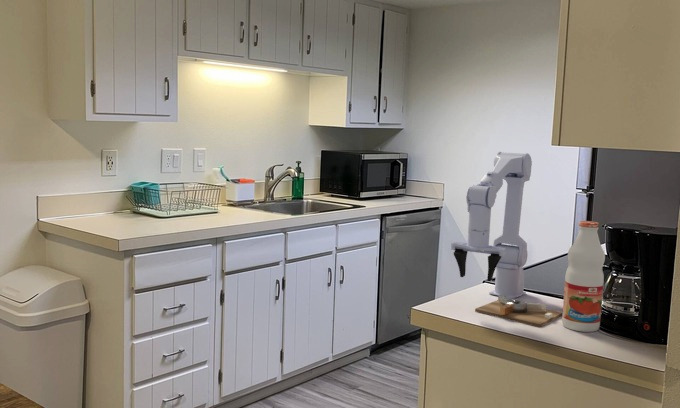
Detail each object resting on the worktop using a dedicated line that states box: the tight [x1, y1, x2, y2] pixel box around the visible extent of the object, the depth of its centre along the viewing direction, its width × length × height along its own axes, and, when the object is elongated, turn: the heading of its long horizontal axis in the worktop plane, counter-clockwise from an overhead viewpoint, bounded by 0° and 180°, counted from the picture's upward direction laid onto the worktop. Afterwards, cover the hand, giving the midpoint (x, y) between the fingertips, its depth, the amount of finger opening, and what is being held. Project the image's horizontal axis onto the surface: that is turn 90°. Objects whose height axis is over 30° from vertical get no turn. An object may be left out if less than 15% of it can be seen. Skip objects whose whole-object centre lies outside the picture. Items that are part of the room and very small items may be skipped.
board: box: [474, 299, 563, 328], centre depth 183 cm, size 15×19×1 cm
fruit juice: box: [561, 220, 606, 333], centre depth 171 cm, size 9×9×28 cm
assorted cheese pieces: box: [497, 295, 547, 315], centre depth 182 cm, size 13×15×3 cm
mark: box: [545, 313, 553, 319], centre depth 177 cm, size 2×1×1 cm, turn 139°
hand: (476, 278), depth 180 cm, fingers open, 7 cm apart
